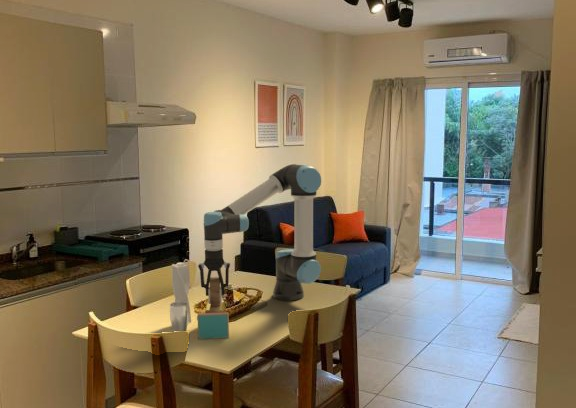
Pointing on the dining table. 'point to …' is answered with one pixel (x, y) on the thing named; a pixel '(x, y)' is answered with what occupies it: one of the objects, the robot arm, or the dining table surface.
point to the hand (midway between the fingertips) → (215, 302)
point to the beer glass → (179, 316)
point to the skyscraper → (181, 284)
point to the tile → (213, 325)
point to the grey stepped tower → (214, 296)
